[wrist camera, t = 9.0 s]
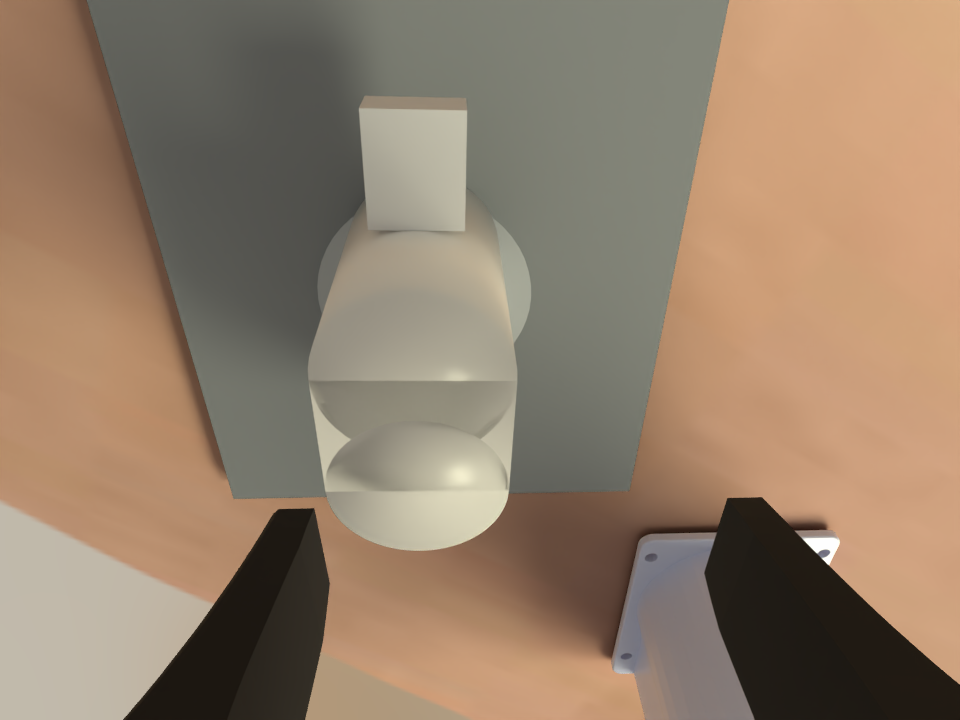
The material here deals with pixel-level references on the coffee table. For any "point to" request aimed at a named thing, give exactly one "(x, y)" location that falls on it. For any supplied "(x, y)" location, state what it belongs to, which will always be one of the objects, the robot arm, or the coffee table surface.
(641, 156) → the mat
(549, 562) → the coffee table surface
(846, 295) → the coffee table surface
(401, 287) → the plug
